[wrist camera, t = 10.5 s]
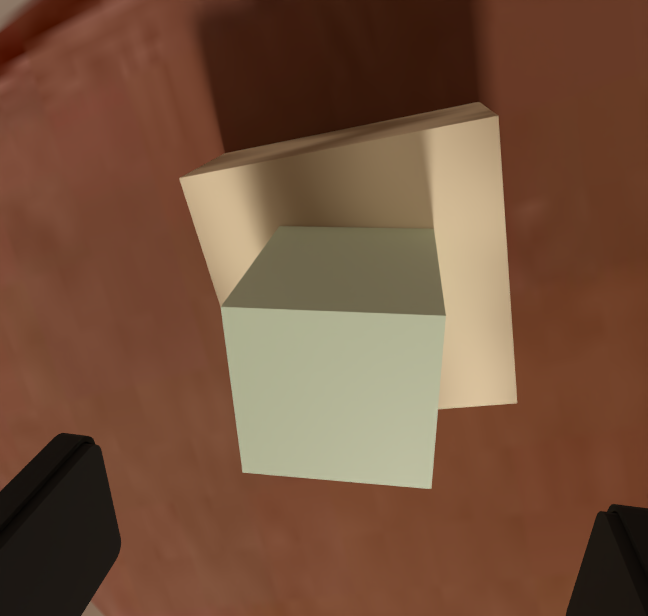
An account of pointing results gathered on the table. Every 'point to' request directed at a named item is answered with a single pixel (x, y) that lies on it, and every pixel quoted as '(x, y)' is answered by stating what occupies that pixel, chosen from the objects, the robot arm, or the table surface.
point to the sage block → (338, 355)
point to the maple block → (383, 221)
